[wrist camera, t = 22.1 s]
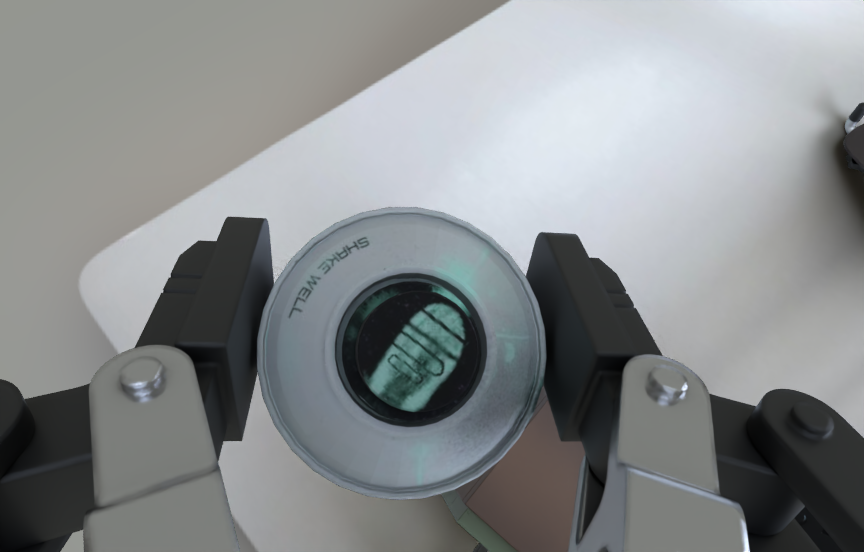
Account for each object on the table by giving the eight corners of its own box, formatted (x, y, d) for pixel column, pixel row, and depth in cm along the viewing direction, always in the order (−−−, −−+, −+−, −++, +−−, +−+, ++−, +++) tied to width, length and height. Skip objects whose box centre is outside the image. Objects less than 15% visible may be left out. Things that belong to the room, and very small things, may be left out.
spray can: (436, 297, 28) (617, 182, 8) (426, 407, 27) (601, 568, 7) (327, 287, 27) (243, 133, 8) (314, 399, 27) (184, 550, 7)
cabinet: (559, 574, 43) (617, 640, 34) (440, 468, 43) (464, 504, 33) (667, 428, 46) (748, 451, 36) (555, 327, 45) (607, 324, 36)
